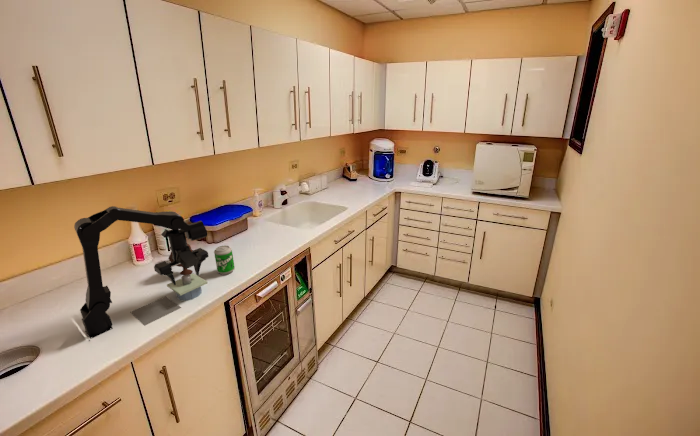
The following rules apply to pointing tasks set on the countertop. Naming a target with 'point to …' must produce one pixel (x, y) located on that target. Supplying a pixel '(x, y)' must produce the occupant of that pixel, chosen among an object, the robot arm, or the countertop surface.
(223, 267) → the soda can
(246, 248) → the countertop surface
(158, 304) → the rubber mat
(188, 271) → the ice cream bowl
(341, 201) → the countertop surface
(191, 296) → the bowl
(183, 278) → the cover
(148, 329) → the countertop surface
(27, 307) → the countertop surface
